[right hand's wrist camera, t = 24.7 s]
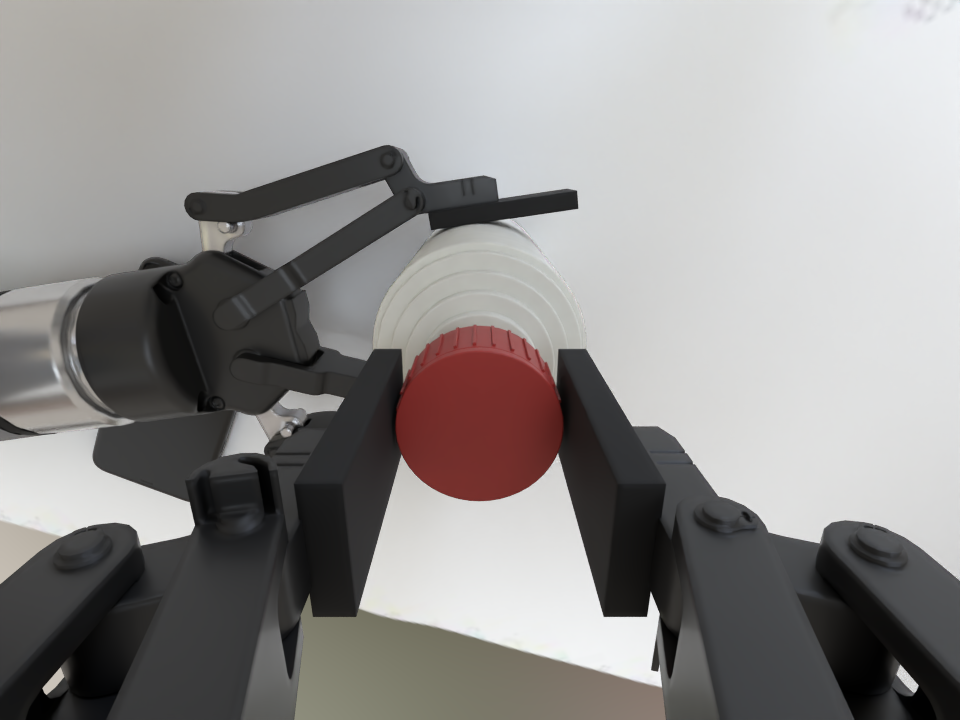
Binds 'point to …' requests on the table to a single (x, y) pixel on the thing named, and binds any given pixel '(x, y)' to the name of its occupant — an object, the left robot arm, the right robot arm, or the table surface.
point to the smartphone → (162, 443)
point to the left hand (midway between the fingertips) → (578, 286)
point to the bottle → (480, 293)
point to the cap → (479, 414)
